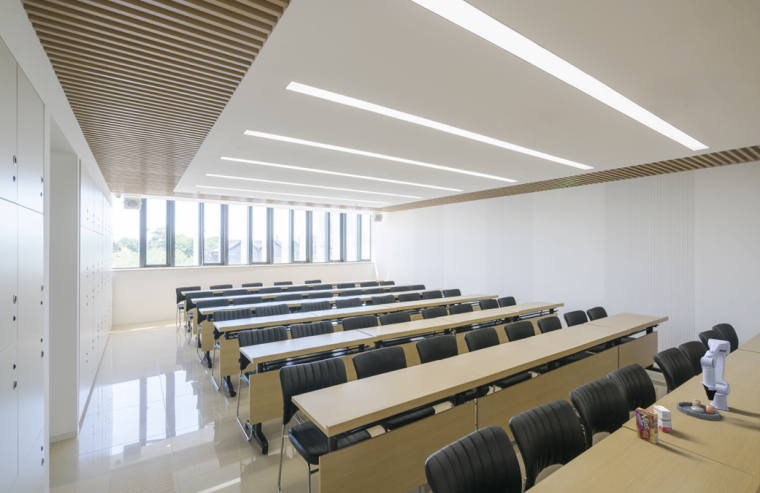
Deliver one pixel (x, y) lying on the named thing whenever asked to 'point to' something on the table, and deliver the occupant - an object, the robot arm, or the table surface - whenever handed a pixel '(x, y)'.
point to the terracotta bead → (710, 409)
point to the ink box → (663, 418)
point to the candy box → (647, 425)
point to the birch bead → (696, 403)
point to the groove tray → (696, 411)
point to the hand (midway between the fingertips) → (709, 398)
